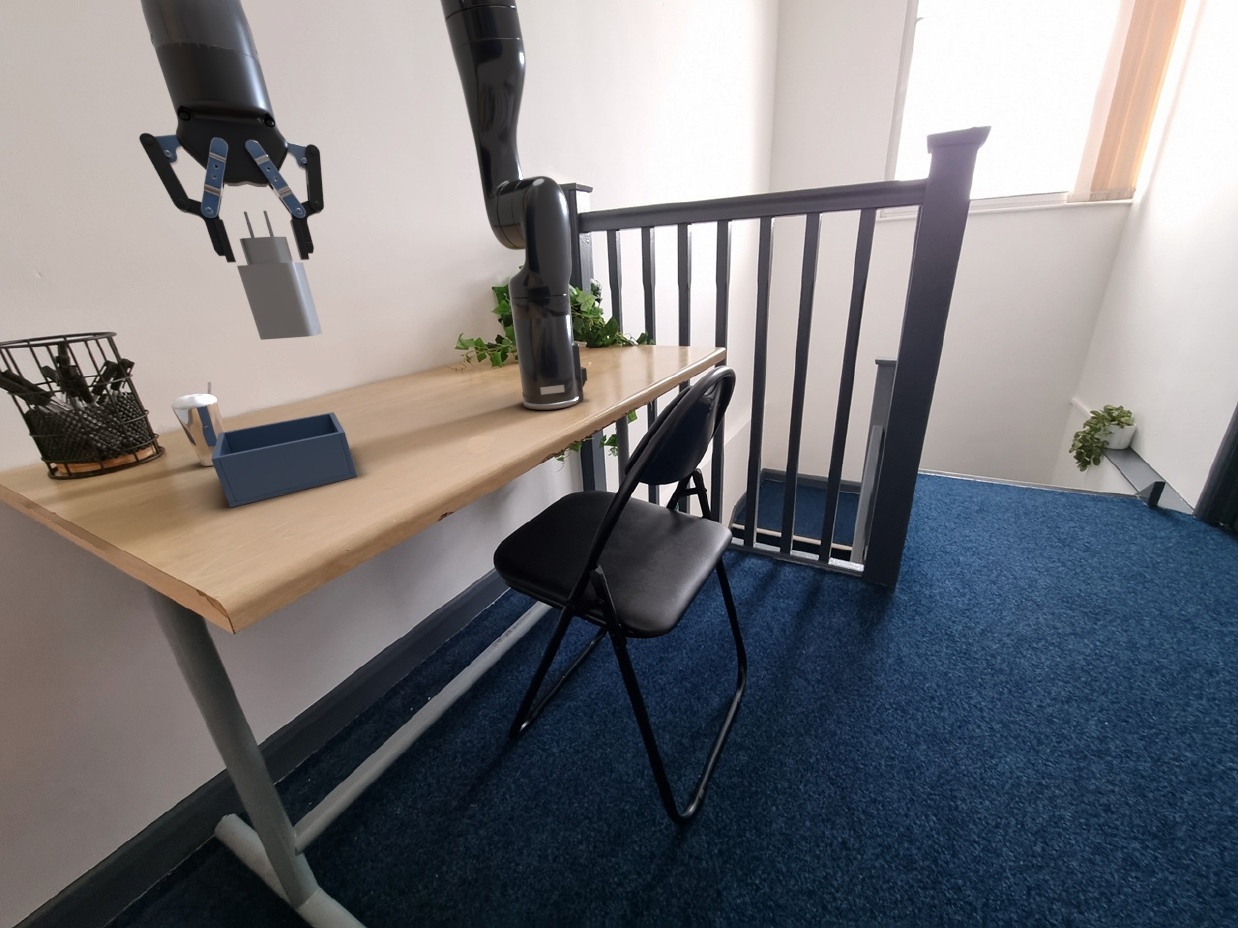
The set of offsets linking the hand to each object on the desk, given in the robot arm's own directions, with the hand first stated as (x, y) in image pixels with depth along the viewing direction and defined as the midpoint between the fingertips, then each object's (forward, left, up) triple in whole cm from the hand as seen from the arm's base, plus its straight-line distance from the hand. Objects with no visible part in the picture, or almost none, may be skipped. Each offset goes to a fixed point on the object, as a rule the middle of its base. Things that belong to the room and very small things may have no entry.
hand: (269, 260), depth 50 cm
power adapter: (0, 0, -8) cm, 8 cm away
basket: (+4, -3, -24) cm, 24 cm away
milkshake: (+12, -17, -24) cm, 31 cm away
